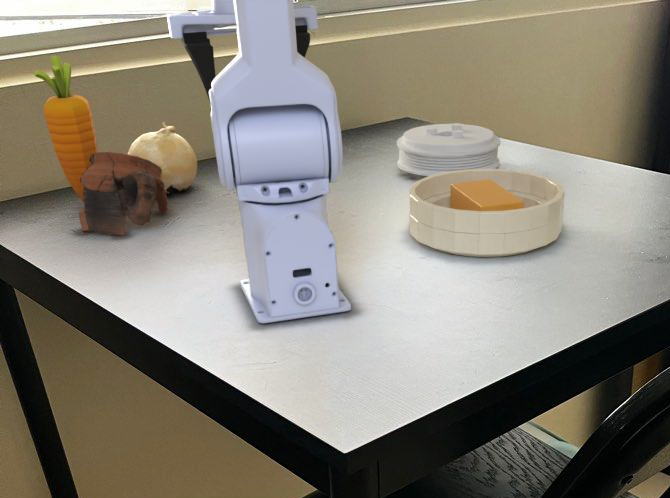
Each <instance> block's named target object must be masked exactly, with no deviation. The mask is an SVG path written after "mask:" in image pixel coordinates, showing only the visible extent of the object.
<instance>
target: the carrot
mask: <svg viewBox="0 0 670 498" xmlns="http://www.w3.org/2000/svg"><path fill="white" fill-rule="evenodd" d="M50 60H51V61H50V62H51V63H52V67H51V69H52V71H51V72H52V74H53V76H52V77H50V76H49V75H48V74H47V73H45V72H43V71H41V70H38V69H36V70H35V71H34V77H36V78H38V79H40V80H43V81H44V83H46V84H47V85H48V86H49V87H50V88H51V89H52V90H53V92H54V94H55V95H54V96H51V97H49V98H48V99H47V100H46V102H45V103H44V105H43V114H44V118H45V122H46V125H47V129H48V132H49V136H50V139H51V143H52V146H53V149H54V152H55V155H56V157H57V159H58V162H59V164H60V167H61V169H62V171H63V173H64V175H65V178H66V180H67V182H68V183H69V184H70V186H71V188H72V189H73V191H74V192H75V194H76V195H77V196H78V197H79V198H80V200H81V201H82V202H83V203H84V200H83V199H84V196H83V188H84V187H83V186H82V184H81V183H80V178H81V177H82V175H83V173H84V172H85V170H86V168H87V167H89V166H90V165H91V162H90V161H89V159H90V157H91V155H92V154H95V153H98V152H99V151H98V149H99V148H98V141H97V134H96V128H95V123H94V118H93V112H92V109H91V105H90V102H89V100H88V99H87V98H85V97H84V96H82V95H80V94H79V95H78V94H72V93H71V91H70V86H71V80H72V65H70V63H69V62H64V63H63V62H62V59H61V57H59V56H58V55H52V56H50Z"/></svg>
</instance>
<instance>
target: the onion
mask: <svg viewBox="0 0 670 498" xmlns="http://www.w3.org/2000/svg"><path fill="white" fill-rule="evenodd" d="M161 125H162V127H163V128H160V129H159V130H158V131H151V132H146V133H143V134H141V135H140V136H139V137H137V138H136V139H135V140H134V141H133V142H132V143H131V145H130V147H129V148H128V151H127V154H129V155H133V156H138V157H141V158H143V159H147V160H149V161H151V162H153V163H155V164H156V165H158V166H159V167H160V168H161V169H162V174H161V180H162V182H163V183H164V190H165V193H166V196H167V195H168V194H170V191H167V190H168V189H169V188H170V187H171V188H172V189H176V190H177V191H179V192H181V191H184V190H187V189H188V188H189V187H190V186H191V185H192V183H194V181H195V178H196V176H197V172H198V158H197V155H196V153H195V150H194V149H193V147H192V146H191V144H189V142H188V141H187V139H185V138H184V137H182V136H181V135H179V134H178V133H175V132H177V129H176V127H175V126H173V125H168V126H167V125H166V121H162V122H161Z"/></svg>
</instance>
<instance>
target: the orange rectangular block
mask: <svg viewBox="0 0 670 498" xmlns="http://www.w3.org/2000/svg"><path fill="white" fill-rule="evenodd" d="M450 208H452V209H458V210H471V211H506V210H514V209H522V208H524V202H523V201H522V200H520V199H519V198H517V197H516V196H514V195H513V194H511V193H510V192H508V191H507V190H505V189H504V188H502V187H501V186H499V185H498V184H496V183H495V182H493V181H492V180H490V179H488V180H480V181H471V182H462V183H453V184H451V192H450Z"/></svg>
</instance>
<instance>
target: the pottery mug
mask: <svg viewBox="0 0 670 498" xmlns="http://www.w3.org/2000/svg"><path fill="white" fill-rule="evenodd" d="M89 161H90V162H91V165H90V166H89V167H87V168H86V170H85V172H84V173H83V175H82V177H81V178H80V183H81V184H82V186H83V187H84V188H83V196H84V199H83V200H84V202H83V203H84V206H83V207H82V208H81V209H78V210H79V211H78V218H79V223H80V226H81V229H80V230H81V232H91V231H92V232H93V231H94V232H97V233H102V234H110V235H115V236H116V235H117V236H125V235H126V224H127V219H128V220H129V221H130V222H131V223H132V224H134V225H136V226H137V227H141V226H145V225H147V224H149V223H151V219H152V215H153V211H152V210H153V208H154V206H155V203H156V204H157V208H158V211H159V213H160V214H161V215H164V213H166V212H167V211H168V210H169V208H168V205H169V201H168V196H167V195H166V194H167V193H165V190H164V183H163V182H162V180H161V174H162V169H161V168H160V167H159V166H158V165H156V164H155V163H153V162H151V161H149V160H147V159H143V158H141V157H138V156H133V155H129V154H128V153H122V152H114V151H98V153H95V154H92V155H91V157H90V159H89Z"/></svg>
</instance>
